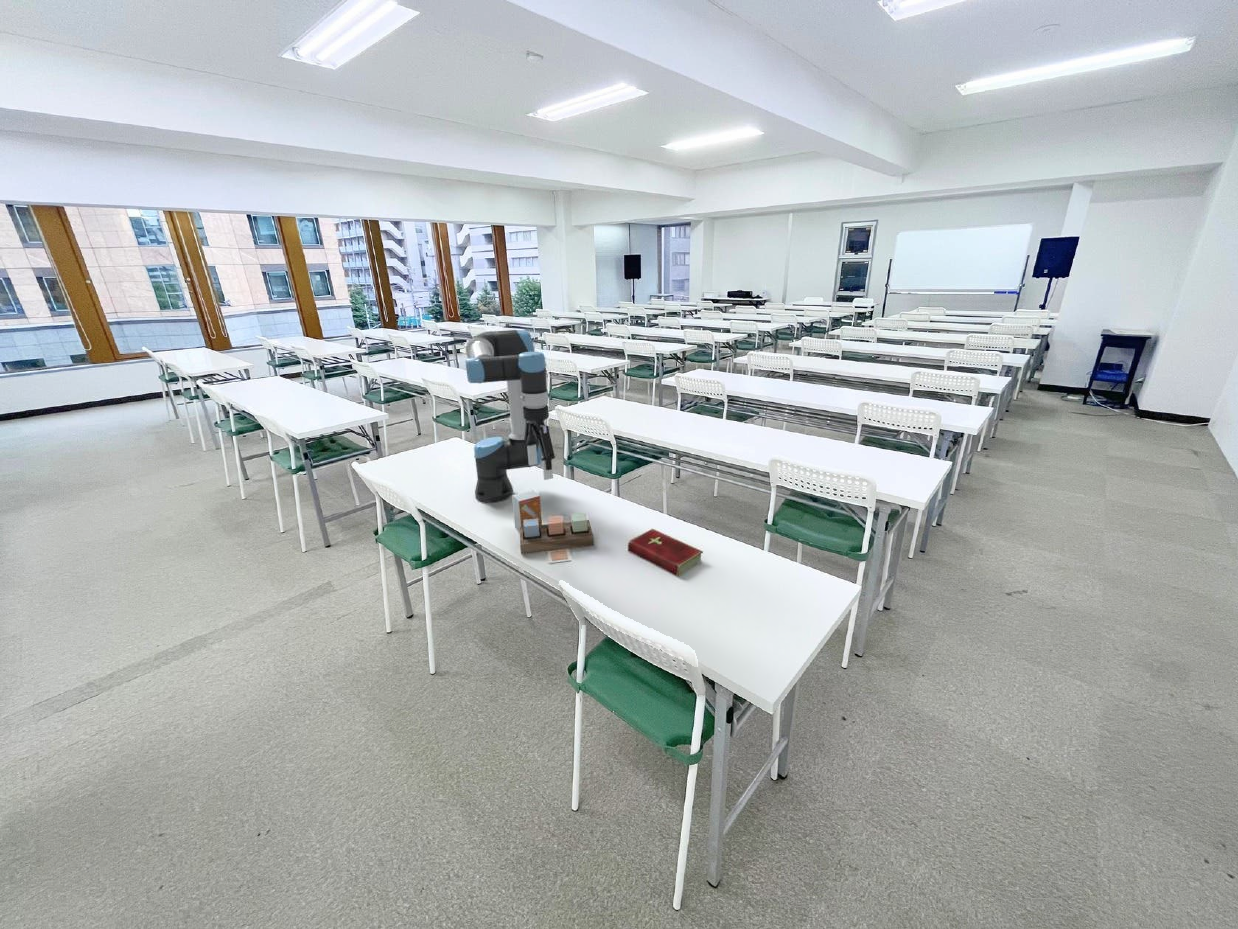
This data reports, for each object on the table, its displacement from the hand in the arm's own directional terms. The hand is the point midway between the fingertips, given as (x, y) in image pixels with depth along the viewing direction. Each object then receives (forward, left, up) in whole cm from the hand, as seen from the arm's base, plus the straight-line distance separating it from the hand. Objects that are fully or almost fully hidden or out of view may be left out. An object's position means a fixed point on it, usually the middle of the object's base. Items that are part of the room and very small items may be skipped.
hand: (540, 471), depth 155 cm
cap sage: (-2, +12, -24) cm, 27 cm away
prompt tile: (+8, +4, -27) cm, 28 cm away
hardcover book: (+14, +37, -28) cm, 48 cm away
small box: (-13, -5, -27) cm, 31 cm away
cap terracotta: (-2, +4, -24) cm, 24 cm away
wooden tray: (-2, +4, -27) cm, 27 cm away
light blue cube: (-2, -4, -24) cm, 24 cm away
